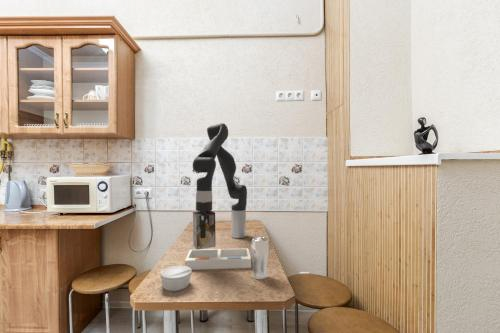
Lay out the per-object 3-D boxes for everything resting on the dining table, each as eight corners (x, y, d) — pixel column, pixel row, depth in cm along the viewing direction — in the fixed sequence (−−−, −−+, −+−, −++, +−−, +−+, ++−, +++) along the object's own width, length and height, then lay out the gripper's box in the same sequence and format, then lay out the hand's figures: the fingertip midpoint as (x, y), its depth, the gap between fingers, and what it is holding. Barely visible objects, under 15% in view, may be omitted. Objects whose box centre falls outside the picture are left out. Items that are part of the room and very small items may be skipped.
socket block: (190, 257, 119) (190, 249, 120) (248, 256, 122) (248, 247, 122) (184, 270, 105) (184, 259, 105) (250, 267, 108) (251, 258, 108)
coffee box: (211, 243, 119) (211, 210, 119) (215, 247, 113) (215, 212, 114) (192, 246, 115) (192, 211, 115) (196, 250, 109) (196, 213, 109)
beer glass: (250, 273, 102) (250, 236, 103) (267, 272, 103) (267, 236, 103) (252, 280, 95) (252, 241, 96) (269, 279, 96) (270, 241, 96)
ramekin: (183, 294, 85) (183, 278, 85) (154, 291, 87) (154, 276, 87) (196, 280, 96) (196, 266, 96) (169, 277, 98) (169, 264, 98)
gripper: (197, 198, 121) (197, 231, 121) (193, 202, 107) (193, 240, 107) (213, 198, 122) (212, 231, 122) (211, 202, 108) (210, 239, 107)
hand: (203, 235), depth 114 cm, fingers closed on coffee box, 8 cm apart
